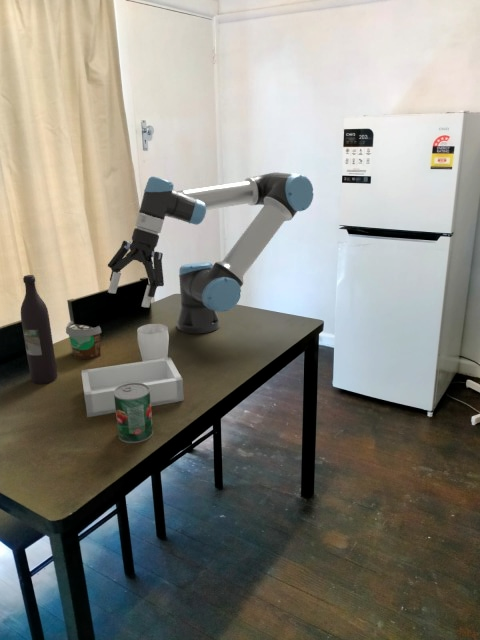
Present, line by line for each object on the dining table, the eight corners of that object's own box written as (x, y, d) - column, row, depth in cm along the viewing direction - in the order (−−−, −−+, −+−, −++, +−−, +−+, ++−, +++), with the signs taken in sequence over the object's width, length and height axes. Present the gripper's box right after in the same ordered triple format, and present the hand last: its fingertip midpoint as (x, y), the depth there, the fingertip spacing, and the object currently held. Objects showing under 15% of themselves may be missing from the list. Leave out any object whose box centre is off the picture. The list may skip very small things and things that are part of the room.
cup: (175, 362, 154) (173, 324, 150) (163, 374, 146) (160, 335, 142) (148, 359, 157) (145, 322, 153) (134, 371, 148) (131, 333, 144)
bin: (171, 376, 145) (170, 357, 143) (183, 400, 131) (182, 379, 129) (83, 390, 137) (81, 370, 135) (87, 417, 124) (84, 395, 122)
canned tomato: (160, 432, 117) (157, 389, 113) (132, 447, 111) (128, 402, 108) (138, 421, 122) (135, 379, 118) (111, 434, 116) (106, 391, 113)
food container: (60, 356, 160) (56, 326, 156) (75, 349, 165) (71, 320, 161) (90, 363, 154) (86, 332, 151) (104, 356, 159) (100, 326, 156)
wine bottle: (30, 376, 146) (13, 274, 136) (55, 371, 149) (41, 271, 139) (32, 386, 140) (15, 280, 130) (59, 381, 143) (44, 277, 133)
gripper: (107, 218, 152) (89, 286, 154) (172, 239, 140) (151, 312, 143) (124, 223, 158) (107, 288, 161) (188, 243, 147) (167, 313, 150)
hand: (128, 299), depth 152 cm, fingers open, 13 cm apart
